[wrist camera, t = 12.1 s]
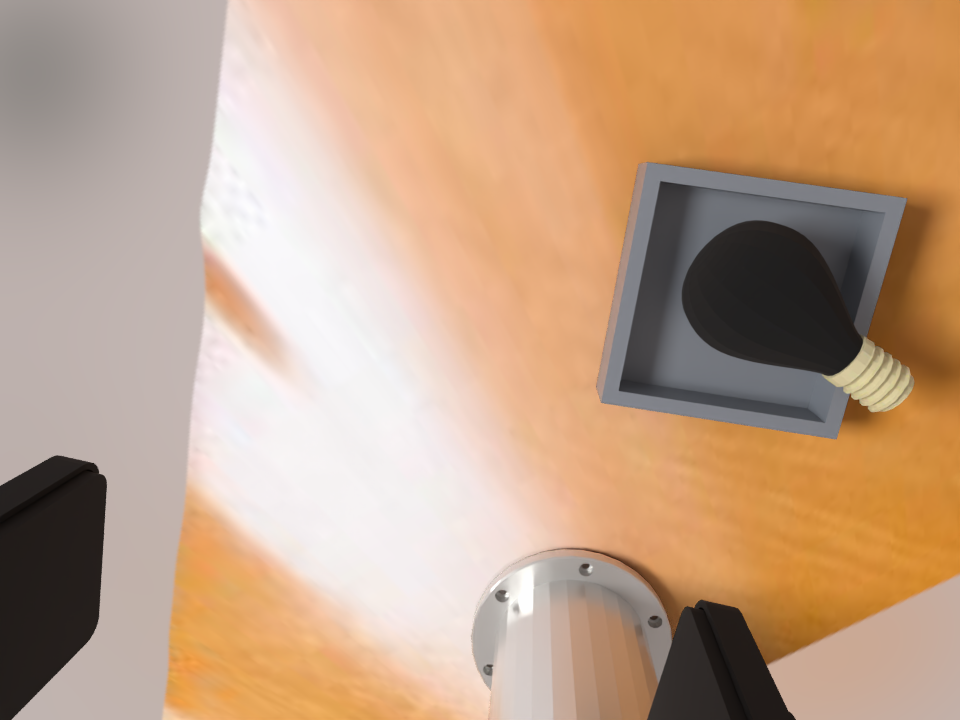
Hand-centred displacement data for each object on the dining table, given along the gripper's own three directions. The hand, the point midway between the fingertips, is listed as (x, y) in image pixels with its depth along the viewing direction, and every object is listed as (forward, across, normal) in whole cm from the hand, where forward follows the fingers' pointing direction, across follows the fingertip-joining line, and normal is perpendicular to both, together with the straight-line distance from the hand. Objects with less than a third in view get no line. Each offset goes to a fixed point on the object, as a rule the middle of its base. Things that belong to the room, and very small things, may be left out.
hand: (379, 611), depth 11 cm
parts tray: (+29, -13, -3) cm, 32 cm away
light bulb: (+27, -16, -2) cm, 31 cm away
